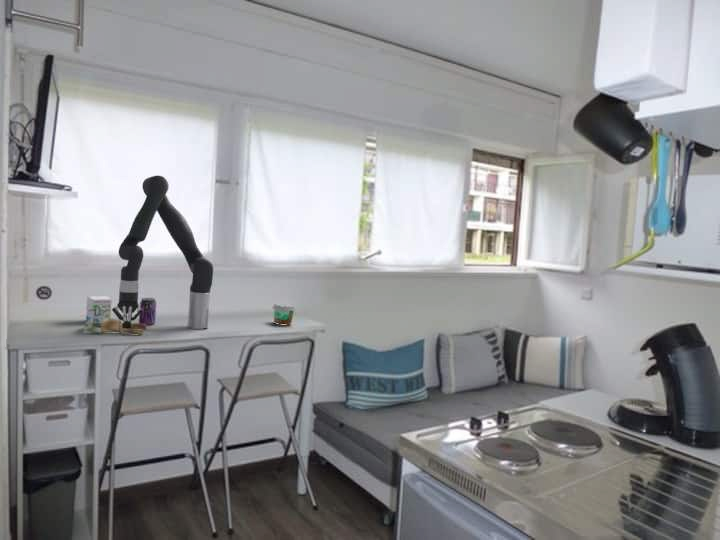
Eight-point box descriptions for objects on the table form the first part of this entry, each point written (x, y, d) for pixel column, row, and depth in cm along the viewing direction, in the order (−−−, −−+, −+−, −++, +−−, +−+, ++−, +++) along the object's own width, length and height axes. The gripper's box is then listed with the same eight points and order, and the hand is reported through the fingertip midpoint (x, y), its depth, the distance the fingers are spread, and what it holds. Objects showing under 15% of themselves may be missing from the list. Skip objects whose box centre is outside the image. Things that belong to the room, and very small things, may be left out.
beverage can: (149, 326, 244) (150, 300, 243) (135, 324, 246) (137, 299, 244) (158, 323, 251) (159, 298, 250) (144, 321, 252) (146, 297, 251)
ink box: (90, 324, 237) (91, 299, 236) (85, 320, 243) (86, 296, 242) (110, 323, 242) (112, 298, 241) (105, 319, 249) (106, 295, 248)
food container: (267, 323, 275) (268, 304, 274) (273, 321, 281) (274, 303, 280) (287, 327, 271) (289, 308, 270) (293, 325, 277) (295, 306, 276)
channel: (146, 329, 238) (146, 320, 238) (142, 335, 227) (143, 326, 226) (90, 327, 232) (90, 318, 232) (83, 333, 220) (84, 324, 220)
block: (121, 330, 233) (122, 319, 233) (119, 333, 227) (119, 322, 226) (104, 329, 231) (105, 318, 231) (101, 333, 225) (101, 321, 224)
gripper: (146, 289, 234) (144, 328, 236) (114, 288, 230) (112, 327, 232) (144, 292, 227) (141, 332, 228) (110, 290, 223) (108, 330, 225)
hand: (126, 329), depth 230 cm, fingers closed
